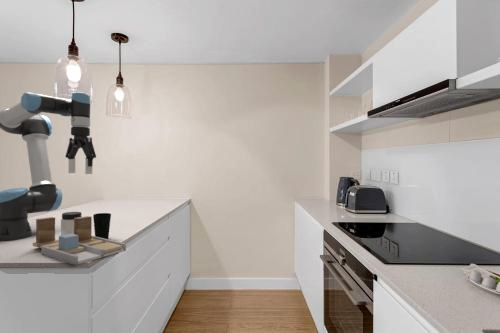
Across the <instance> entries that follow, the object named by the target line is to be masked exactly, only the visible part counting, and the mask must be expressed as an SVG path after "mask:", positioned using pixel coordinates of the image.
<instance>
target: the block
mask: <svg viewBox="0 0 500 333" xmlns="http://www.w3.org/2000/svg"><path fill="white" fill-rule="evenodd" d="M58 240H59V249H62V250H65V251H66V250H70V249H75V248H78V242H79V235H76V234H67V235H62V236H61V235H58Z"/></svg>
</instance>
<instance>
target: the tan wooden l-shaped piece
mask: <svg viewBox="0 0 500 333" xmlns="http://www.w3.org/2000/svg"><path fill="white" fill-rule="evenodd" d="M35 222H36V223H35V242H33V243H32V247H36V248H39V249H41V246H46V247H50V248H53V249H56V250H60V251H63V252H66V253H69V254H71V253H75V252H79V251H83V250H84V247H81V246H78V248H75V249H70V250H66V251H65V250H62V249H59V239H56V217H53V216H49V217H42V218H36V219H35Z"/></svg>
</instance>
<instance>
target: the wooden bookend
mask: <svg viewBox="0 0 500 333" xmlns="http://www.w3.org/2000/svg"><path fill="white" fill-rule="evenodd" d="M92 217H93V216H89V215H85V216H81V217H78V218H74V234H76V235H79V242H78V243H82V244H85V245H89V246H93V245H97V244H102V243H104V241H102V240H98V239H93V238H91V236H92V224H93V223H92V220H93V219H92Z"/></svg>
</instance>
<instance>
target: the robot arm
mask: <svg viewBox="0 0 500 333" xmlns="http://www.w3.org/2000/svg"><path fill="white" fill-rule="evenodd" d="M70 95H71V96H70V99H69V98H63V97H56V96H50V95H45V94H41V93H40V94H39V93H35V92H24V93H23V94H22V96H21V98H20V102H19V103H16V104H15V105H13V106H12V107H9V108H4V109H2V110H0V129H1V130H2V131H4V132H6V133H8V134H13V135H21V137H22V138H21V139H22V140H23V141H24V142H26V148H27V155H28V156H27V157H28V164H29V170H30V178H31V179H30V180H31V185H30V186H29V187H17V188H16V187H15V188H10V189H4V190H1V191H0V241H3V242H4V241H5V242H6V241H15V240H20V239H25V238H29V237H31V236H32V235H33V232H32V231H33V230H32V228H31V225H30V222H29V219H28V218H29V217H28V214H36V213H44V212H48V213H49V212H51V211H56V210H58V209H59V208H60V207H61V205H62V202H63V192H62V190H61V189H60V188H57V184H55V183H54V182H53V181H52V180H53V179H52V172H51V167H50V166H51V165H50V161H49V155H48V154H49V153H48V147H47V140H48V139H49V136H51V135H52V134H53V133H52V132H53V131H52V130H53V126H52V123H51V119H49V118H48V116H46V115H41V113H48V114H53V115H60V116H61V117H70V126H71V128H70V135H71V136H73V137H69V138H68V139H69V141H68V146H67V150H66V152H65V158H67V159H68V174H76V156H77V153H78V152H79V150H80V149H82V151H83V154H84V156H85V166H84V167H85V169H84V170H85V172H84V173H85V175H93V165H94V164H93V161H94V159H96V158H97V155H96V151H95V148H94V145H93V138H92V137H90V135H91V129H90V127H91V97H90V95H89V93H86V92H81V91H80V92H79V91H75V92H72V93H71V94H70Z"/></svg>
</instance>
